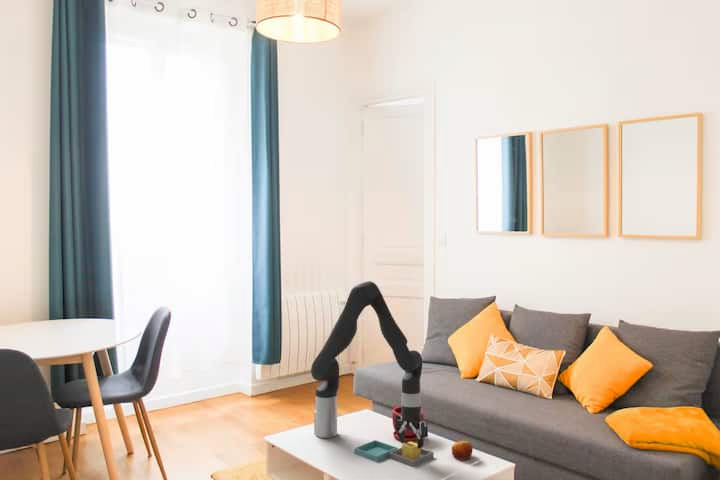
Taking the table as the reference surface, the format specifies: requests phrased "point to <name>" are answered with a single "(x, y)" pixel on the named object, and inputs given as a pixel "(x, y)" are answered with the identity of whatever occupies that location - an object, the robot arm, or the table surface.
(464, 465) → the table surface
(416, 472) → the table surface
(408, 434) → the plant pot
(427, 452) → the tray
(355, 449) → the tray
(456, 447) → the fruit
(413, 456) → the marked block
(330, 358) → the robot arm
